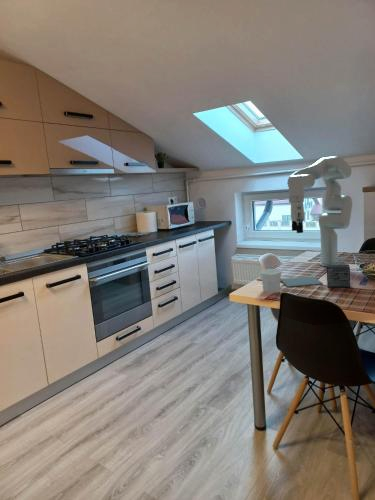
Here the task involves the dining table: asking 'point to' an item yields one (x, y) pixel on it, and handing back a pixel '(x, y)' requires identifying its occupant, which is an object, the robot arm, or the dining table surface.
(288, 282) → the mat
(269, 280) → the cup
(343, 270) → the small box
